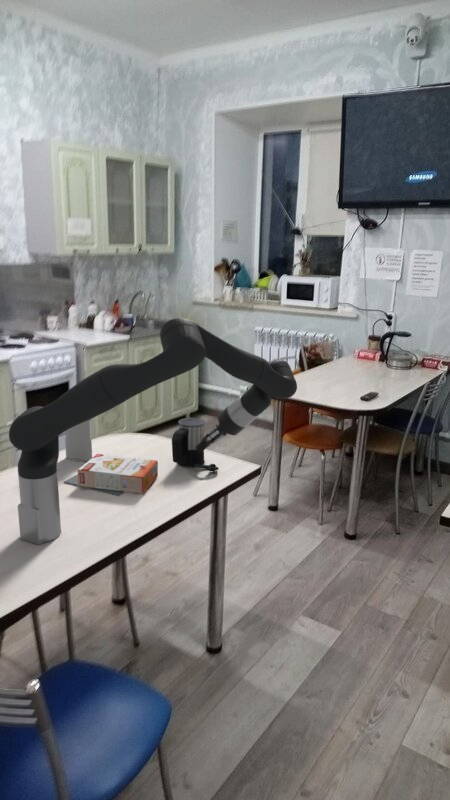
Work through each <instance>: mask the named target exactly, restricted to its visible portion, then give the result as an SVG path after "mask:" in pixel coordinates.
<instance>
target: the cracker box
mask: <svg viewBox="0 0 450 800" xmlns="http://www.w3.org/2000/svg"><path fill="white" fill-rule="evenodd" d="M158 462H159V460H157V459H146V458H136V457H130V456H121V455H120V456H119V455H110V454H103V453H102V454H101V453H96V454H95V455H94V456H92V459H90V460H89V461H88V462H86V463H85V462H84V464H83V465H81V466H80V467H78V469H77V474H78V486H77V487H79V486H83V487H90V488H99V489H107V490H115V491H123V493H125V492H126V493H133V494H141V495H143V494H144V493H145V492H146V490H148V489H149V487H150V486H151V485H152V484H153V483H154V481H156V479H157V478H158V477H159V473H158V470H159V469H158V467H159V466H158V465H159V463H158ZM83 487H82V488H83Z"/></svg>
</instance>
